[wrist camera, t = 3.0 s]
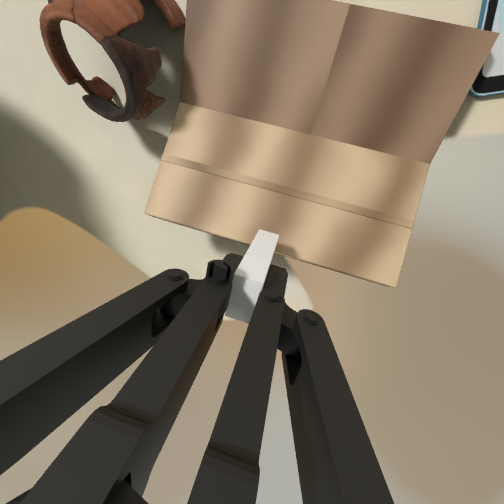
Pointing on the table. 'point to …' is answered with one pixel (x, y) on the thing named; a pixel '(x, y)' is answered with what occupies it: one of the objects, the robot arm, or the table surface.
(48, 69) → the table surface
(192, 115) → the plank
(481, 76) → the smartphone
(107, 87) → the pottery mug
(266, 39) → the floor boards
